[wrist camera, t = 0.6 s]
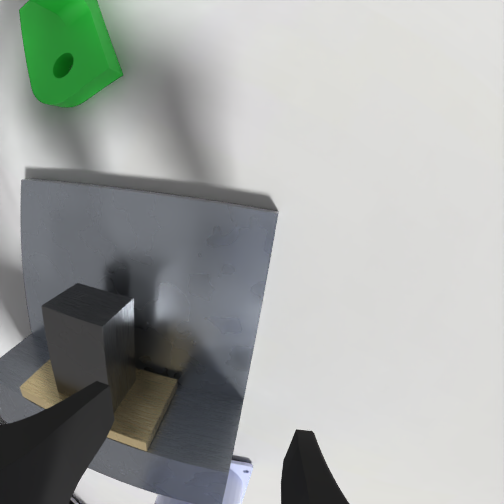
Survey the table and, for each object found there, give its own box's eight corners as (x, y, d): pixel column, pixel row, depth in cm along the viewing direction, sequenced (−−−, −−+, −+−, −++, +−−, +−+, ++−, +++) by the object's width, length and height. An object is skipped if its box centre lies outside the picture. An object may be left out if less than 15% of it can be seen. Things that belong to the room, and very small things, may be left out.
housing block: (236, 433, 22) (220, 509, 15) (47, 373, 23) (2, 419, 16) (278, 211, 17) (274, 241, 10) (30, 178, 18) (-48, 190, 11)
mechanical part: (33, 16, 15) (-30, -9, 7) (88, -28, 14) (32, -70, 6) (58, 124, 17) (-29, 117, 10) (124, 75, 16) (44, 38, 9)
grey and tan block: (176, 430, 21) (152, 488, 15) (76, 395, 21) (40, 440, 15) (182, 299, 18) (140, 354, 12) (59, 268, 18) (-2, 301, 12)
